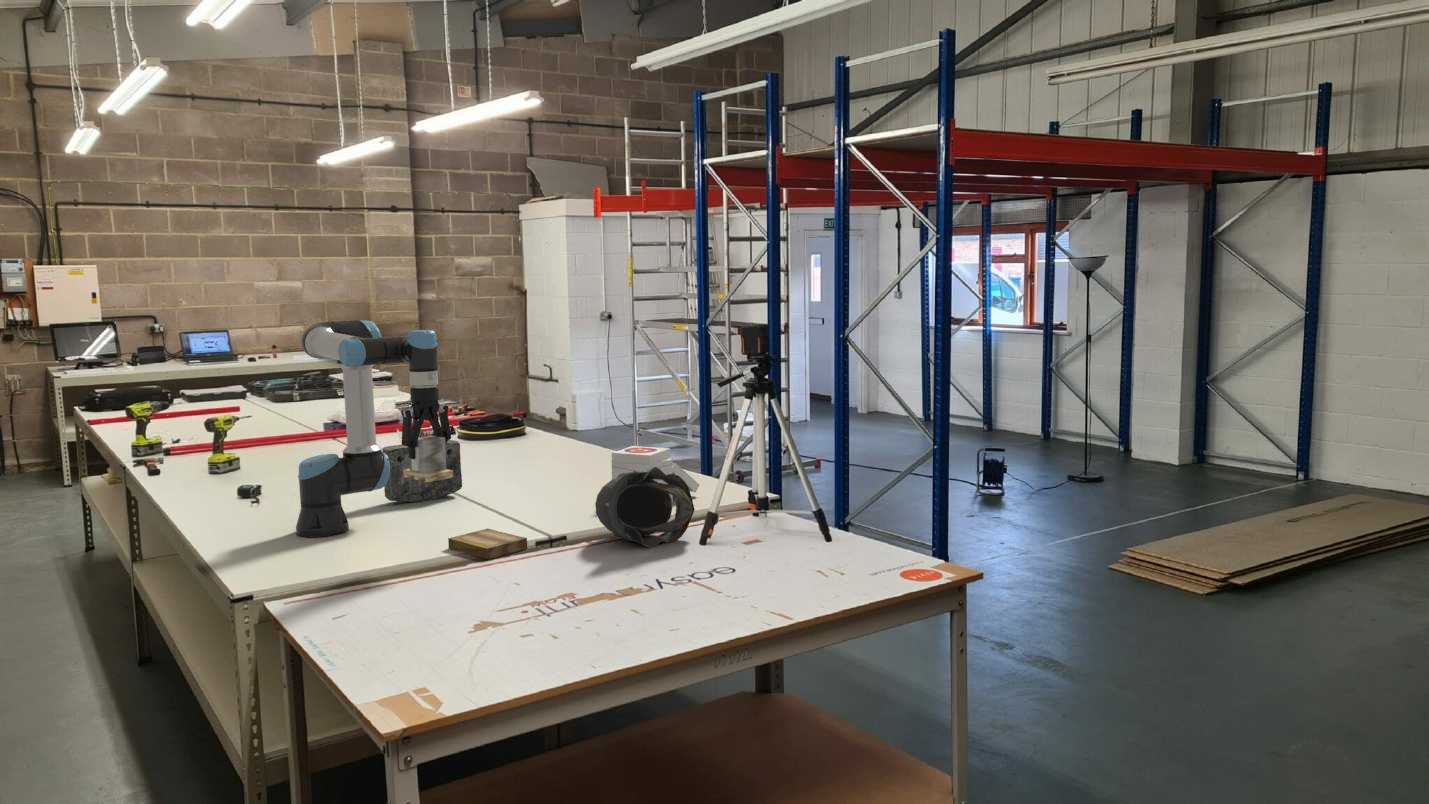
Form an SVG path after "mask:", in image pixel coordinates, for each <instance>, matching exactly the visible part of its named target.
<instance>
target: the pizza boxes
mask: <svg viewBox="0 0 1429 804" xmlns="http://www.w3.org/2000/svg"><path fill="white" fill-rule="evenodd" d="M654 467H657V468H659V469H660V470H661V471H662V472H663V473H664V474H665V475H668V474H675V475H678V476H680V477H681V478H682V479H683V480H684V481H685V483H686V484H687V486H688V488H689V490H690V493H691V492H692V493H696V492H697V491H698V489H699V487H700V484H699V483H698V482H697V481H696V480H695V479H694V478H693V477H692V476H691V475H690V474H689V473H687V471H685V470H684V469H683V468H682V467H681V466H680V465H679V464H678V463H676V462H673V459H672V458H671V448H669V447H654V446H653V447H651V446H640V445H639V446H638V445H637V446H635V445H631V446H629V447H625V448H623V449H620V450H616V451H612V452H611V480H613V479H615V478H617V476H618V475H619V474H621V473H624V472H633V471H636V472H647V471H649V470H650V469H652V468H654ZM653 480H654V481H656V482H658V483H663V484H667V483H665V482H664V481H663V480H661V479H660V480H658V479H653ZM669 495H670V497H671V499H672V503H673V502H674V496H672V495H671V494H669Z"/></svg>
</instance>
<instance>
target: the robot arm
mask: <svg viewBox="0 0 1429 804" xmlns="http://www.w3.org/2000/svg"><path fill="white" fill-rule="evenodd" d="M300 340H301V341H300V344H301V348H302V349H303V351H304V352H305V354H307V355H308V356H309V357H311V358H313V359H318V360H336V365H337V366H338V367H339V368H340V369H342V379H343V394H344V396H343V397H344V408H345V409H344V411H345V426H346V428H345V429H346V441H347V444H346V447H345V448H344V449H342V457H339V455H338V454H336V453H327V454H319V455H314V456H311V457H307V458H305V459H303V460H302V461H301V462H300V463H299V465H298V475H297V478H298V484H299V486H298V487H299V500H300V511H299V513H298V518H297V521H296V526H295V533H296V536H299V537H303V538H319V537H320V538H321V537H322V538H323V537H330V536H335V535H339V534H342V533H345V532H347V531H349V520H348V518H347V516H346V513H345V511H344V509H343V506H342V496H345V495H351V494H357V493H365V492H369V493H370V492H372V491H376V490H380V489H383V488H384V486H385V485H386V483H387V481H388V479H389V474H390V463H389V461H388V460H389V458H388V456H387V455H386V454H385V453H383V452H382V448H383V447H381V446H380V445H379V444H378V443H377V435H376V434H377V433H376V432H377V431H376V418H375V416H376V415H375V403H374V401H375V400H374V385H373V384H374V383H373V367H374V366H375V365H391V364H408V366H409V367H408V368H409V369H408V370H409V385H410V389H409V391H410V392H409V393H410V402H411V405H410V407H409V408H408V409H401V416H402V429H401V430H402V431H401V445H404V446H407V447H408V448H409V458H410V459H411V462H412V470H415V471H420V462H419V447H416V445H417V441H418V437H420V433H421V430H422V426H423V424H424V423H425V421H427V420H428V422H429V423H430V425H431V427H432V430H433V433H434V436H436V437H443V438H445V443H447V442H448V440H452V434H451V427H450V421H449V405H447V404H440V402H439V398H440V392H439V391H440V390H439V387H438V386H437V385H439V372H438V368H439V367H438V341H437V335H436V332H435V331H434V330H432V329H415V330H409V332H408V333H407V335H406V334H404V335H395V336H382V334H381V331H380V329H379V328H378V326H377V325H376V323H374V322H373V321H371V320H363V319H362V320H361V319H355V320H336V321H335V320H334V321H332V320H331V321H329V320H326V321H320V322H317V323H315V324H312V325H310V326H308V327H307V328H306V329H305V330H304V332H303V334H302V336H301V339H300ZM412 417H413V418H412Z"/></svg>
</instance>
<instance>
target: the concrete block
mask: <svg viewBox="0 0 1429 804" xmlns="http://www.w3.org/2000/svg"><path fill="white" fill-rule="evenodd" d="M381 448H382V452H383V453H385V454H386V455H387V456H388V458H389V460H388V461H389V463H390V474H389V479H388V481H387V483H386V485H385V486H384V487H383V488H384V497H385V498H386V499H387V500H388V501H391V502H402V503H404V502H405V503H406V502H407V503H409V502H410V503H411V502H412V503H413V502H414V503H415V502H417V503H418V502H426V501H433V500H437V499H440V498H443V497H446V496H449V495H451V494H454V493H457V492H459V491H460V490H461V489H462V487H463V480H462V479H463V477H462V476H463V475H462V462H461V444H460V442H459V441H458V440H453V439H450V440H448V442H447V443H445V450H446V469H448V470H453V478H448V479H443V480H437V481H432V482H425V479H420V480H416V479H414V477H408V478H406V477H404V473H403V470H405V469H410V460H409V448H408V447H407V446H404V445H402V444H397V445H389V446H384V447H381Z"/></svg>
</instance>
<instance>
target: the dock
mask: <svg viewBox="0 0 1429 804" xmlns="http://www.w3.org/2000/svg"><path fill="white" fill-rule="evenodd" d="M447 540H448V543H447V544H448V549H449V550H452V551H457V552H461V553H464V554H467V555H470V556H475V557H478V558H482V559H485V560H490V559H494V558H498V557H501V556H504V555H509V554H513V553H516V552H520V551H523V550H525V549H528V537H524V536H519V535H515V534H512V533H508V532H504V531H503V532H502V531H498V530H495V529H491V528H484V529H480V530H476V531H472V532H469V533H465V534H460V535H456V536H452V537H448V538H447Z"/></svg>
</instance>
